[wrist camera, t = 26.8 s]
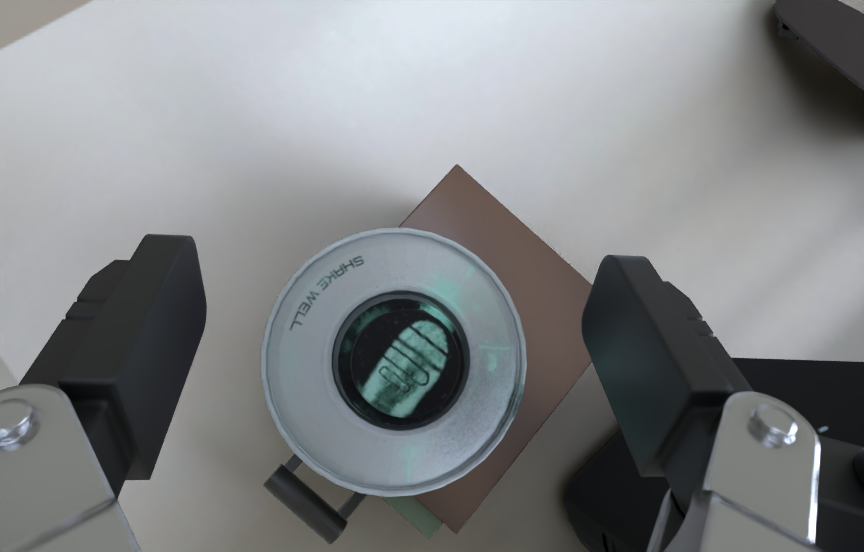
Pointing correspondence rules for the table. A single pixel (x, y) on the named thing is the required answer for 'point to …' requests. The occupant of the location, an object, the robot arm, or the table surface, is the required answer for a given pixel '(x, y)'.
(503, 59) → the table surface
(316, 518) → the drawer
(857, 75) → the laptop tray
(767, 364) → the black nas enclosure
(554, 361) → the cabinet
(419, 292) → the spray can
